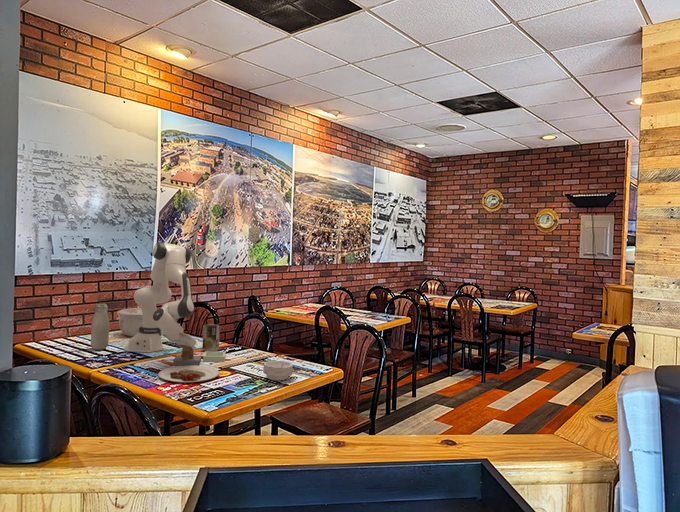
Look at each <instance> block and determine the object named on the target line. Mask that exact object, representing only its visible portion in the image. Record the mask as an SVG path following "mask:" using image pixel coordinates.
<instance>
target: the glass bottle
mask: <svg viewBox="0 0 680 512" xmlns="http://www.w3.org/2000/svg"><path fill="white" fill-rule="evenodd" d="M108 310H109V308H108V305H107V304H106V303H97V304H96V305H95V306H94V314H93V317H92V320H91V328H90V347H91V348H92V349H93V350H96V351H103V350H105V349H106V348H107V347H108V346H109V342H110V341H109V339H110V338H109V337H110V327H111V326H110V319H109V315H108V312H109V311H108Z"/></svg>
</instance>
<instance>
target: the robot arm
mask: <svg viewBox="0 0 680 512" xmlns="http://www.w3.org/2000/svg"><path fill="white" fill-rule="evenodd" d="M152 256H153V258H154V259H155V260H154V264H153V266H152V269H151V272H150V279H151V281H152V282H153V284H152V286H145V287H140V288H139V289H136V290H135V291H134V294H133V300H134V302H135V303H136V304H137V305H138V306H140V308H141V310H142V315H143V324H142V326H140V327H139V333H138V334H136V335H135V336H133V337H131V338H129V340H128V343H127V345H126V346H125V347H123V352H133V353H134V352H135V353H136V352H137V353H153V352H159V351H162V350H164V346H163V342H162V341H163V340H162V336H163V337H165V338H166V340H168V341H169V342H171V343H175V344H177V345H179V346H180V347H181V348H182V345H185V346H189V347H191V349H192V350H194V351H195V350H196V345H197V341H196V340H195V339H194V338H193V336H191V335H190V334H189V333H184V328H183V327H182V326H181V325H180V324H179V322H177V319H181V318H182V319H183V318H189V317H191V316H192V315H193V313H194V311H195V305H194V304H195V303H194V301H193V293H192V292H193V291H192V282H191V277H190V274H189V273H187V271H186V269H187V268H186V267H187V264H188V263H189V262H190V261H191V258H192V250H191V249H189V248H188V247H186V246H182V245H178V244H173V243H167V242H162V241H160V242H156V243H155V245H154V246H153V248H152ZM169 281H170V282H171V283H174V284H179V285H180V291H181V293H180V294H181V298H180V299H179V300H178V299H177V300H174V301H170V300H171V299H172V296H173V295H172V290H171V288H170V287H169ZM169 301H170V302H169ZM160 304H162V306H161V307H160V308H157V305H160Z"/></svg>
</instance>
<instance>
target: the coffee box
mask: <svg viewBox="0 0 680 512" xmlns="http://www.w3.org/2000/svg"><path fill="white" fill-rule="evenodd" d="M220 330H221V325H220V324H219V323H217V324H216V323H214V324H213V323H206V324H203V325H202V350H205V351H204V352H218V351H219V349H220V336H221V335H220V333H221V331H220ZM202 350H201V351H202Z"/></svg>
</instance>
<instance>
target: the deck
mask: <svg viewBox="0 0 680 512" xmlns="http://www.w3.org/2000/svg"><path fill="white" fill-rule="evenodd" d="M201 363H202V356H200V355H194V356H193V359H188V360H187V359H184V358H182V355H176V356H174V358H173V360H172V367H176V366H187V365H197V366H201Z"/></svg>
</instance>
